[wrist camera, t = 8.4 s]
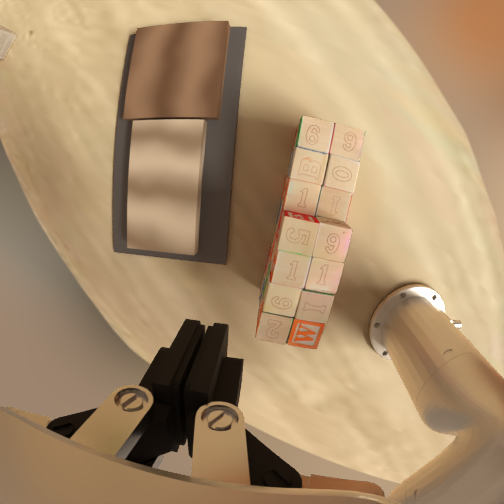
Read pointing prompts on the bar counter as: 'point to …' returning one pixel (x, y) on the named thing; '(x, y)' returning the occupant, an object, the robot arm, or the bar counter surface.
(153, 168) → the plank
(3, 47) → the small box
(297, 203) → the stack of blocks
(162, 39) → the laid board
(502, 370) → the bar counter surface
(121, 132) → the underlay mat
